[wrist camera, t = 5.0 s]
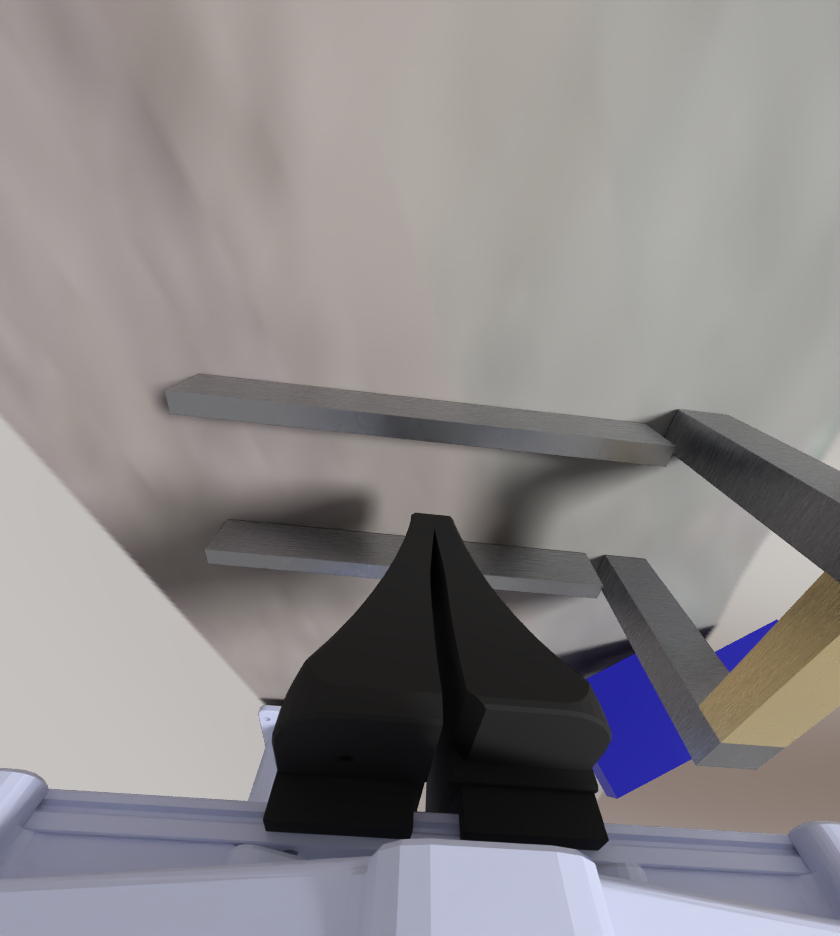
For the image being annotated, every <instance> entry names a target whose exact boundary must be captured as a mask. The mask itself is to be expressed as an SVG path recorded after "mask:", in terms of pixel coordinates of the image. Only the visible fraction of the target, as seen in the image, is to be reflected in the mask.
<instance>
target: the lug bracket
mask: <svg viewBox="0 0 840 936" xmlns="http://www.w3.org/2000/svg"><path fill="white" fill-rule="evenodd" d="M664 438H665V439H667V440H668V441H670V442H671V443H672V444H674V445H675V446H676V448H675V450H674V452H673V455H675V456H676V457H677V458H679V459H680V460H681V461H683V462H684V463H685V464H686V465H688V466H689V467H690V468H692V469H693V470H694V471H695V472H697V473H698V474H699V475H701V476H702V477H703V478H704V479H706V480H707V481H708V482H710V483H711V484H712V485H713V486H715V487H716V488H717V489H719V490H720V491H721V492H723V493H724V494H725V495H726V496H728V497H729V498H730V499H732V500H733V501H734V502H735V503H737V504H738V505H739V506H741V507H742V508H743V509H744V510H746V511H747V512H748V513H750V514H751V515H752V516H754V517H755V518H756V519H757V520H759V521H760V522H761V523H763V524H764V525H765V526H766V527H768V528H769V529H770V530H772V531H773V532H774V533H776V534H777V535H778V536H780V537H781V538H782V539H783V540H785V541H786V542H787V543H788V544H790V545H791V546H793V547H794V548H795V549H796V550H798V551H799V552H800V553H801V554H803V555H804V556H805V557H806V558H808V559H809V560H810V561H812V562H813V563H814V564H816V565H817V566H818V567H819V568H821V569H822V570H823V571H825V572H824V573H823V574H822V575H821V576H820V577H819V578H818V579H817V581H816V582H815V583H814V584H813V585H812V586H811V587H810V588H809V589H808V590H807V591H806V592H805V593H804V594H803V595H802V596H801V598H800V599H799V600H798V601H797V602H796V603H795V604H794V605H793V606H792V607H791V608H790V609H789V610H788V611H787V612H786V613H785V615H784V616H783V617H782V618H781V619H780V620H779V621H778V622H777V623H776V624H775V625H774V626H773V627H772V628H771V629H770V630H769V632H768V633H767V634H766V635H765V636H764V637H763V638H762V639H761V640H760V641H759V642H758V643H757V644H756V645H755V646H754V648H753V649H752V650H751V651H750V652H749V653H748V654H747V655H746V656H745V657H744V658H743V659H742V660H741V661H740V662H739V664H738V665H737V666H736V667H735V668H734V669H733V670H732V671H731V672H729V671H728V670H727V668H726V667H725V666H724V664H723V663H722V662H721V660H720V659H719V658H718V656H717V655H716V653H715V652H714V651H713V650H712V648H711V647H710V645H709V644H708V643H707V641H706V640H705V639H704V637H703V636H702V635H701V633H700V632H699V631H698V629H697V628H696V626H695V625H694V624H693V622H692V621H691V620H690V618H689V617H688V616H687V614H686V613H685V612H684V610H683V609H682V608H681V606H680V605H679V604H678V602H677V601H676V600H675V598H674V597H673V595H672V594H671V593H670V591H669V590H668V589H667V587H666V586H665V585H664V583H663V582H662V581H661V579H660V578H659V577H658V575H657V574H656V573H655V571H654V570H653V568H652V567H651V566H650V564H649V563H648V562H647V560H646V559H639V558H629V557H618V556H608V555H606V556H605V558H604V560H603V562H602V564H601V566H600V568H599V570H598V572H597V575H598V577H599V579H600V581H601V582H602V584H603V587H602V589H601V590H602V592H603V594H604V596H605V597H606V599H607V601H608V603H609V605H610V607H611V609H612V610H613V612H614V614H615V616H616V618H617V620H618V622H619V623H620V625H621V627H622V629H623V631H624V633H625V635H626V637H627V638H628V640H629V642H630V644H631V646H632V648H633V650H634V651H635V653H636V655H637V657H638V659H639V661H640V663H641V664H642V666H643V668H644V670H645V672H646V674H647V676H648V678H649V679H650V681H651V683H652V685H653V687H654V689H655V691H656V692H657V694H658V696H659V698H660V700H661V702H662V704H663V705H664V707H665V709H666V711H667V713H668V715H669V717H670V718H671V720H672V722H673V724H674V726H675V728H676V730H677V732H678V733H679V735H680V737H681V739H682V741H683V743H684V745H685V746H686V748H687V750H688V752H689V754H690V756H691V758H692V759H693V761H694V763H695V765H696V766H710V767H724V768H739V769H752V770H756V769H758V768H759V767H760V766H762V765H763V764H764V763H766V762H767V761H768V760H769V759H771V758H772V757H773V756H775V755H776V754H777V753H779V752H780V751H781V750H783V749H784V748H785V747H786V746H788V745H789V744H790V743H792V742H793V741H794V740H796V739H797V738H798V737H799V736H801V735H802V734H803V733H805V732H806V731H807V730H809V729H810V728H811V727H813V726H814V725H815V724H816V723H818V722H819V721H820V720H822V719H823V718H824V717H826V716H827V715H828V714H829V713H831V712H832V711H833V710H835V709H836V708H837V707H838V706H840V471H838V470H837V469H834V468H833V467H831V466H829V465H827V464H825V463H823V462H821V461H819V460H817V459H815V458H813V457H811V456H809V455H807V454H805V453H803V452H801V451H799V450H797V449H795V448H793V447H791V446H789V445H787V444H785V443H783V442H781V441H779V440H777V439H775V438H773V437H771V436H769V435H767V434H765V433H763V432H761V431H759V430H757V429H755V428H753V427H751V426H749V425H747V424H745V423H743V422H741V421H739V420H737V419H735V418H733V417H731V416H729V415H723V414H715V413H706V412H697V411H688V410H679V409H678V411H677V413H676V415H675V417H674V419H673V421H672V423H671V425H670V427H669V429H668V431H667V433H666V435H665V437H664Z"/></svg>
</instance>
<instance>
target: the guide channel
mask: <svg viewBox="0 0 840 936" xmlns="http://www.w3.org/2000/svg"><path fill="white" fill-rule="evenodd" d="M165 394H166V398H167V402H168V406H169V410H170V414H177V415H186V416H196V417H205V418H215V419H224V420H233V421H243V422H252V423H261V424H271V425H280V426H289V427H299V428H308V429H317V430H327V431H336V432H346V433H355V434H364V435H374V436H383V437H392V438H402V439H411V440H420V441H430V442H439V443H449V444H458V445H467V446H477V447H486V448H495V449H505V450H514V451H523V452H533V453H542V454H551V455H561V456H570V457H580V458H589V459H598V460H608V461H617V462H626V463H636V464H645V465H654V466H664V467H666V465H667V463H668V461H669V459H670V457H671V455H672V454H673V452H674V450H675V448H676V446H675V445H674V444H672V443H671V442H670V441H668V440H667V439H665V438H664V437H663V436H661V435H660V434H659V433H657V432H656V431H655V430H653V429H652V428H650V427H649V426H648V425H646V424H645V423H636V422H627V421H618V420H609V419H600V418H591V417H583V416H574V415H565V414H556V413H547V412H538V411H529V410H520V409H511V408H502V407H493V406H484V405H475V404H466V403H457V402H448V401H440V400H431V399H422V398H413V397H404V396H395V395H386V394H377V393H368V392H359V391H350V390H341V389H332V388H323V387H314V386H306V385H297V384H288V383H279V382H270V381H261V380H252V379H243V378H234V377H225V376H216V375H207V374H197V375H195V376H193V377H191V378H189V379H187V380H185V381H183V382H181V383H179V384H177V385H174V386H172V387H170V388H168V389H166V390H165ZM404 539H405V536H397V535H387V534H376V533H366V532H355V531H345V530H334V529H324V528H313V527H303V526H292V525H282V524H271V523H261V522H250V521H240V520H229V519H228V520H227V521H226V522H225V524H224V525H223V526H222V527H221V529H220V530H219V531H218V533H217V534H216V535H215V537H214V538H213V539H212V540H211V542H210V543H209V544H208V546H207V547H206V548H205V553H206V557H207V561H208V564H220V565H231V566H242V567H253V568H264V569H275V570H286V571H298V572H309V573H320V574H331V575H342V576H353V577H364V578H376V579H382V578H383V576H384V575H385V573H386V572H387V570H388V568H389V567H390V565H391V563H392V562H393V560H394V558H395V557H396V555H397V553H398V551H399V549H400V547H401V545H402V543H403V541H404ZM464 544H465V546H466V548H467V550H468V551H469V553H470V555H471V556H472V558H473V560H474V561H475V563H476V565H477V566H478V568H479V569H480V571H481V572H482V574H483V575H484V577H485V578H486V580H487V581H488V583H489V584H490V585H491V587H492V588H493V589H498V590H509V591H521V592H532V593H543V594H554V595H565V596H576V597H587V598H597V597H598V595H599V593H600V591H601V589H602V587H603V584H602V582H601V581H600V579H599V577H598V575H597V573H596V572H595V570H594V568H593V566H592V564H591V562H590V561H589V559H588V557H587V555H586V553H576V552H566V551H555V550H545V549H534V548H524V547H513V546H503V545H492V544H482V543H471V542H464Z"/></svg>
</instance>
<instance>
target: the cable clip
mask: <svg viewBox="0 0 840 936" xmlns="http://www.w3.org/2000/svg"><path fill="white" fill-rule="evenodd" d="M777 622H778V620H775V621H773V622H772V623H770V624H767V625H766V626H764V627H762V628H760V629H758V630H756V631H754V632H752V633H750V634H748V635H746V636H745V637H743V638H741V639H739V640H737V641H735V642H733V643H732V644H729V645H727V646H725V647H724V648H722V649H720V650H718V651H716V652H715V653H716V655H717V656H718V658H719V659H720V660H721V662H722V663H723V664H724V666H725V667H726V668H727V670H728V671H729V672H731V671H732V670H733V669H734V668H735V667H736V666H737V665H738V664H739V662H740V661H741V660H742V659H743V658H744V657H745V656H746V655H747V654H748V653H749V652H750V651H751V650H752V649H753V648H754V646H755V645H756V644H757V643H758V642H759V641H760V640H761V639H762V638H763V637H764V636H765V635H766V634H767V633H768V632H769V630H770V629H771V628H772V627H773V626H774V625H775V624H776V623H777ZM585 680H587V681H588V682H589V683H590V685H591V687H592V689H593V691H594V693H595V695H596V697H597V699H598V700H599V703H600V705H601V707H602V709H603V711H604V714H605V716H606V719H607V721H608V724H609V726H610V729H611V734H612V740H611V742H610V744H609V746H608V748H607V750H606V751H605V752H604V754H603V755H602V756H601V758H600V759H599V760H598V761H597V763H596V764H595V765H594V766H593V768H592V769H593V772H594V773H595V775H596V777H597V779H598V781H599V783H600V784H601V786H602V788H603V790H604V792H605V793H606V795H607V796H609V797H613V798H619V797H621V796H623V795H625V794H627V793H629V792H631V791H633V790H634V789H636V788H638V787H640V786H642V785H644V784H646V783H648V782H649V781H651V780H653V779H655V778H657V777H659V776H661V775H663V774H665V773H666V772H668V771H670V770H672V769H674V768H676V767H678V766H680V765H682V764H683V763H685V762H687V761H689V760H691V759H692V758H691V756H690V754H689V752H688V750H687V748H686V746H685V745H684V743H683V741H682V739H681V737H680V735H679V733H678V732H677V730H676V728H675V726H674V724H673V722H672V720H671V718H670V717H669V715H668V713H667V711H666V709H665V707H664V705H663V704H662V702H661V700H660V698H659V696H658V694H657V692H656V691H655V689H654V687H653V685H652V683H651V681H650V679H649V678H648V676H647V674H646V672H645V670H644V668H643V666H642V664H641V663H640V661H639V659H638V657H637V655H636V654H634V655H632V656H630V657H628V658H626V659H624V660H622V661H620V662H618V663H616V664H614V665H612V666H610V667H609V668H607V669H605V670H603V671H601V672H599V673H597V674H595V675H593V676H591V677H589V678H587V679H585Z"/></svg>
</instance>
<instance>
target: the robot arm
mask: <svg viewBox="0 0 840 936" xmlns="http://www.w3.org/2000/svg"><path fill="white" fill-rule="evenodd" d="M259 719H260V724H261V728H262V733H263V737H264V742H265V747H266V748H265V751H264V754H263V757H262V760H261V763H260V766H259V769H258V772H257V775H256V779H255V781H254V784H253V787H252V790H251V793H250V796H249V799H248V801H236V800H221V799H204V798H188V797H172V796H171V797H170V796H155V795H139V794H123V793H108V792H90V791H75V790H58V789H48V785H47V784H46V782H45V781H44V779H43V778H42V777H40V776H38V775H37V774H35V773H32V772H29V771H26V770H19V769H7V768H0V936H840V822H836V821H812V822H807V823H803V824H801V825H799V826H797V827H795V828H794V829H792V830H791V831H790V832H789V835H784V834H770V833H753V832H737V831H720V830H704V829H689V828H672V827H657V826H656V827H655V826H640V825H624V824H608V823H603V820H602V816H601V813H600V810H599V807H598V804H597V800H596V797H595V794H594V793H597V791H598V784H597V781H596V778H595V775H594V772H593V769H592V768H593V766H594V765H595V764H596V763H597V761H598V760H599V759H600V758H601V756H602V755H603V754H604V752H605V751H606V750H607V748H608V746H609V744H610V742H611V740H612V734H611V729H610V726H609V724H608V721H607V719H606V716H605V714H604V711H603V709H602V707H601V705H600V703H599V700H598V699H597V697H596V695H595V693H594V691H593V689H592V687H591V685H590V683H589V682H588V681H587V680H585V679H584V678H583V677H582V676H580V675H579V674H578V673H577V672H576V671H574V670H573V669H572V668H571V667H569V666H568V665H567V664H566V663H564V662H563V661H562V660H561V659H559V658H558V657H557V656H556V655H555V654H554V653H553V652H551V651H550V650H549V649H548V648H547V647H546V646H545V645H544V644H543V643H542V642H540V641H539V640H538V639H537V638H536V637H535V636H534V635H533V634H532V633H531V632H530V631H529V630H528V629H527V628H526V627H525V626H524V625H523V623H522V622H521V621H520V620H519V619H518V618H517V617H516V616H515V615H514V614H513V613H512V612H511V610H510V609H509V608H508V607H507V606H506V605H505V603H504V602H503V601H502V600H501V598H500V597H499V596H498V595H497V593H496V592H495V591H494V590H493V588H492V587H491V585H490V584H489V583H488V581H487V580H486V578H485V577H484V575H483V574H482V572H481V571H480V569H479V568H478V566H477V565H476V563H475V561H474V560H473V558H472V556H471V555H470V553H469V551H468V550H467V548H466V546H465V544H464V542H463V540H462V538H461V536H460V534H459V532H458V530H457V528H456V526H455V524H454V521H453V519H452V518H451V517H450V516H443V515H433V514H422V513H414V514H412V515H411V522H410V525H409V528H408V531H407V534H406V536H405V539H404V541H403V543H402V545H401V547H400V549H399V551H398V553H397V555H396V557H395V558H394V560H393V562H392V563H391V565H390V567H389V568H388V570H387V572H386V573H385V575H384V576H383V578H382V579H381V581H380V582H379V583H378V585H377V586H376V588H375V589H374V590H373V592H372V593H371V594H370V595H369V597H368V598H367V599H366V600H365V602H364V603H363V604H362V605H361V607H360V608H359V609H358V610H357V611H356V612H355V613H354V615H353V616H352V617H351V618H350V619H349V620H348V621H347V622H346V623H345V624H344V625H343V626H342V627H341V628H340V629H339V630H338V631H337V632H336V633H335V634H334V635H333V636H332V637H331V638H330V639H329V640H328V641H327V642H326V643H325V644H323V645H322V646H321V647H320V648H319V649H318V650H317V651H316V652H315V653H313V654H312V655H311V656H310V657H309V658H308V659H307V660H306V661H305V662H304V664H303V666H302V667H301V669H300V671H299V672H298V674H297V676H296V677H295V679H294V681H293V683H292V685H291V686H290V688H289V690H288V692H287V695H286V697H285V699H284V701H283V704H282V706H274V705H263V706H261V708H260V710H259ZM425 782H427V785H426V811H425V812H417V808H418V805H419V801H420V797H421V794H422V790H423V787H424V783H425Z"/></svg>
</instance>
